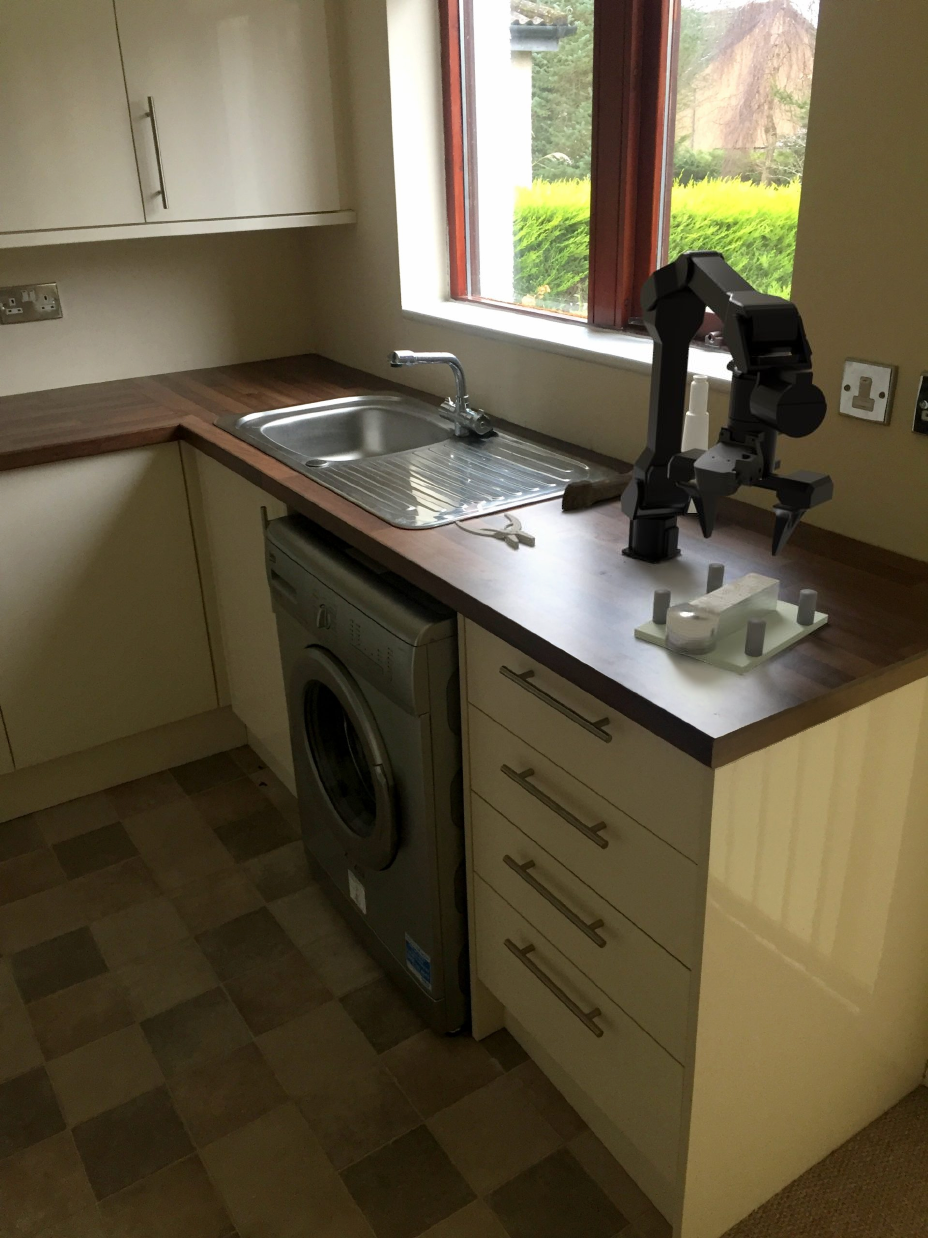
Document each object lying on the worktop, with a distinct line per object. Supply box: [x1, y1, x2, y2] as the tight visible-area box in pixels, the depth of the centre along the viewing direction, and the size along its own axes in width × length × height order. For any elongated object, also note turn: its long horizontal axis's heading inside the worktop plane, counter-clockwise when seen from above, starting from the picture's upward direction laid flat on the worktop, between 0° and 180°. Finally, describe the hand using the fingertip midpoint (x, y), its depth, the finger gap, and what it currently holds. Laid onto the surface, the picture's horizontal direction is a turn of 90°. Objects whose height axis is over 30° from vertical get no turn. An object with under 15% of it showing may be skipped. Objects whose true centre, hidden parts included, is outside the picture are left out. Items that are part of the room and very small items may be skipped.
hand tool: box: [561, 469, 633, 511], centre depth 174 cm, size 19×4×5 cm, turn 126°
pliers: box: [455, 512, 536, 550], centre depth 160 cm, size 10×2×15 cm
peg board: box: [633, 562, 829, 676], centre depth 125 cm, size 15×20×5 cm
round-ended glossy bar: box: [665, 572, 781, 656], centre depth 123 cm, size 6×19×4 cm, turn 134°
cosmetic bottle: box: [681, 374, 710, 513], centre depth 165 cm, size 6×6×22 cm
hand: (740, 546), depth 122 cm, fingers open, 9 cm apart
